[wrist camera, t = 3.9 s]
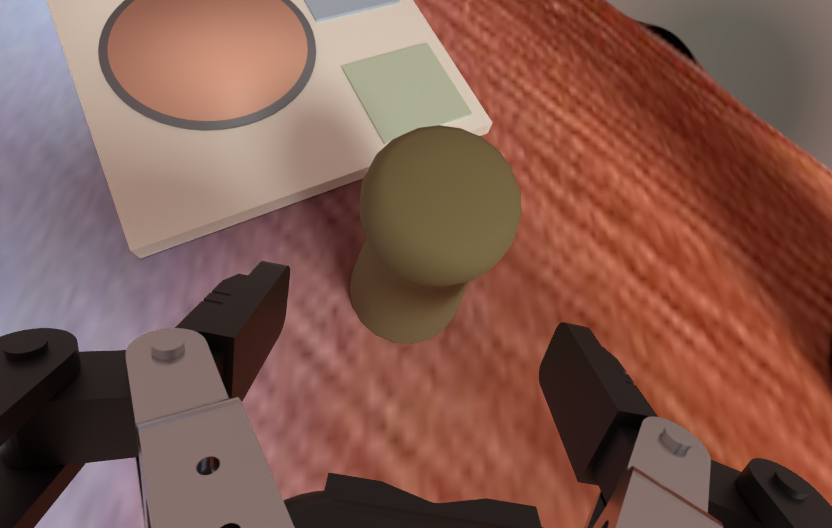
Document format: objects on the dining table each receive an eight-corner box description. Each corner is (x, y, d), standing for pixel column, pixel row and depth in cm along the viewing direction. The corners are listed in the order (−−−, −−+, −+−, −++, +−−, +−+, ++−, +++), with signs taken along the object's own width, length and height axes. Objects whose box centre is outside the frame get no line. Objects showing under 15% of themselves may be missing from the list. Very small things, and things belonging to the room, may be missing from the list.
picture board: (368, -53, 30) (369, -71, 29) (487, 133, 26) (493, 120, 25) (55, 7, 25) (40, -13, 23) (140, 258, 20) (127, 249, 19)
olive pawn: (468, 251, 23) (560, 123, 13) (449, 355, 21) (542, 303, 11) (365, 224, 23) (374, 71, 12) (335, 328, 20) (315, 245, 10)
